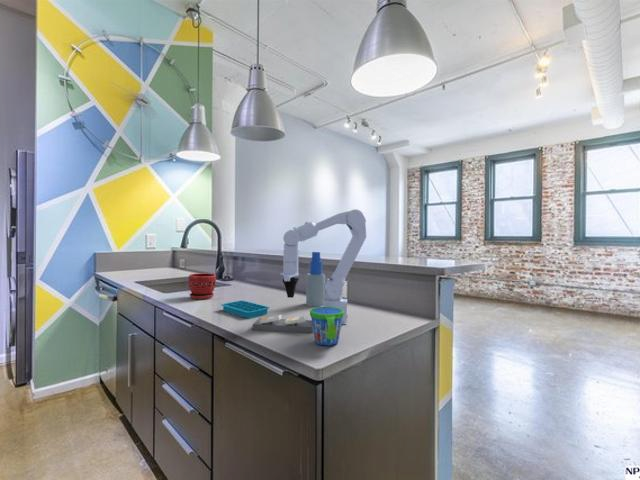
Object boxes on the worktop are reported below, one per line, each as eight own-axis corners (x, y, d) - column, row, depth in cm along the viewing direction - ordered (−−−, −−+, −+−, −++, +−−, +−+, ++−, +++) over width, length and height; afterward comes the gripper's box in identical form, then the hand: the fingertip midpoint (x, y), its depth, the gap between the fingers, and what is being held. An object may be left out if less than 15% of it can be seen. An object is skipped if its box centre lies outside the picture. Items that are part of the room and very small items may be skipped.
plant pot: (199, 301, 152) (199, 277, 152) (183, 298, 160) (183, 274, 159) (221, 297, 163) (221, 274, 163) (205, 294, 171) (205, 272, 170)
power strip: (314, 325, 116) (314, 318, 116) (311, 332, 108) (312, 324, 108) (259, 323, 118) (259, 315, 118) (252, 329, 110) (252, 321, 110)
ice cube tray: (242, 306, 145) (242, 300, 145) (271, 314, 132) (271, 307, 132) (219, 311, 136) (219, 304, 136) (248, 320, 123) (248, 312, 123)
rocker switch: (306, 318, 112) (306, 315, 112) (305, 321, 108) (304, 318, 108) (287, 321, 113) (287, 318, 113) (285, 324, 109) (284, 321, 109)
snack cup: (309, 334, 106) (309, 304, 106) (340, 334, 107) (340, 304, 107) (309, 351, 91) (310, 316, 91) (346, 351, 91) (346, 316, 91)
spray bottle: (302, 304, 149) (302, 251, 148) (313, 301, 156) (314, 251, 156) (317, 307, 144) (318, 252, 143) (328, 304, 151) (329, 251, 150)
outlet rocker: (281, 317, 113) (281, 314, 113) (279, 320, 109) (278, 317, 109) (263, 320, 114) (262, 317, 114) (260, 323, 110) (259, 320, 110)
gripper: (284, 259, 128) (284, 293, 128) (275, 263, 113) (275, 300, 114) (302, 260, 127) (301, 293, 127) (295, 263, 113) (294, 301, 113)
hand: (290, 297), depth 121 cm, fingers closed
